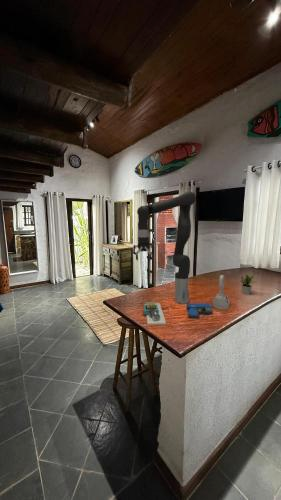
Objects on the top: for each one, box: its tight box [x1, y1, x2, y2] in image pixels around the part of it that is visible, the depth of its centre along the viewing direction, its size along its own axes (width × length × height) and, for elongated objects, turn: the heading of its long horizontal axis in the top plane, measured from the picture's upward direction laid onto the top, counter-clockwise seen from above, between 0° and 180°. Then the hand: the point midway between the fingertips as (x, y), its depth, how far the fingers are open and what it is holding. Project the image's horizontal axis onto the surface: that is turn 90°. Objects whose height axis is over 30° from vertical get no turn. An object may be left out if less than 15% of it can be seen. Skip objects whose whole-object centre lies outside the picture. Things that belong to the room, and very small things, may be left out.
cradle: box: [143, 304, 159, 316], centre depth 129 cm, size 8×8×3 cm
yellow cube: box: [145, 301, 156, 310], centre depth 129 cm, size 5×5×5 cm
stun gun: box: [186, 302, 214, 320], centre depth 128 cm, size 4×16×15 cm
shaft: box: [149, 309, 160, 321], centre depth 121 cm, size 8×4×4 cm, turn 22°
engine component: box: [212, 274, 230, 310], centre depth 137 cm, size 11×20×10 cm
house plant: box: [239, 272, 257, 296], centre depth 158 cm, size 14×14×16 cm
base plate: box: [144, 302, 167, 326], centre depth 129 cm, size 10×28×1 cm, turn 2°
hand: (143, 260), depth 143 cm, fingers open, 8 cm apart
